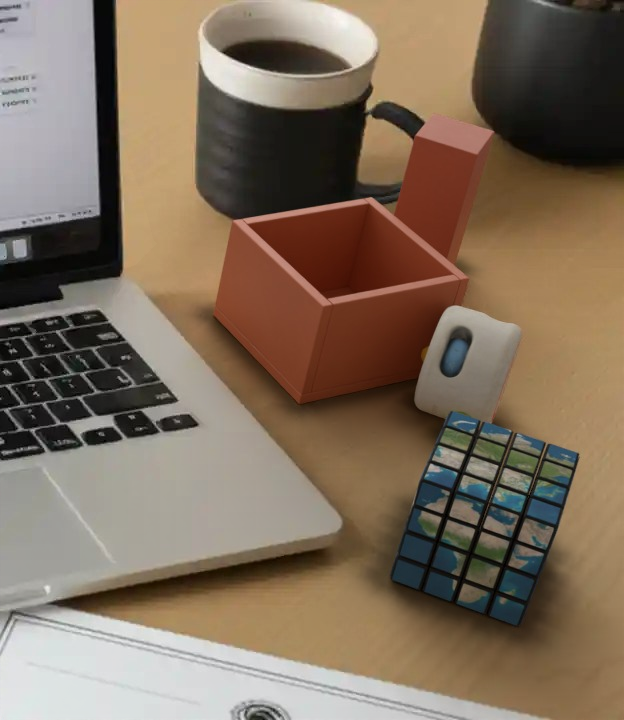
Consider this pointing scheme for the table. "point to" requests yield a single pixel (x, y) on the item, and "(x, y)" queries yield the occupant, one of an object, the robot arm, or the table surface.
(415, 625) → the table surface
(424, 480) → the puzzle
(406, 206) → the terracotta block
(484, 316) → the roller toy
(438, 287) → the terracotta bin
